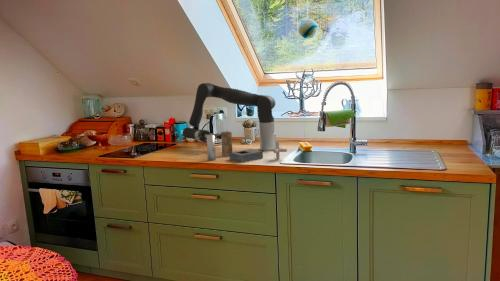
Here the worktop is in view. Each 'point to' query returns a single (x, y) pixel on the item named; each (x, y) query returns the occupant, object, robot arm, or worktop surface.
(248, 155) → the socket block
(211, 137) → the round metal bit
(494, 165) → the worktop surface
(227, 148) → the square walnut bit
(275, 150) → the pipe connector
